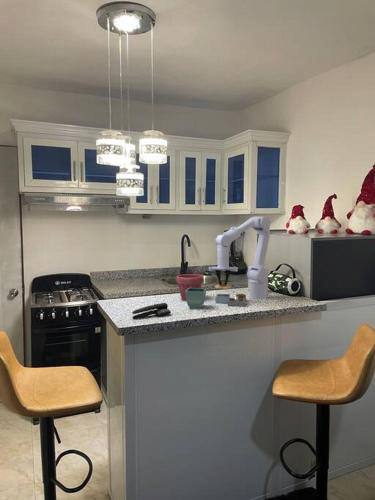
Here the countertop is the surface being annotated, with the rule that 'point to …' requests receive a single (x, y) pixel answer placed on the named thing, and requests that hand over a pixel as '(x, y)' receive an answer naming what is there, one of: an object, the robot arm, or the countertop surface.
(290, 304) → the countertop surface
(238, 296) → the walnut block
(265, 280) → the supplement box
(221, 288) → the lid
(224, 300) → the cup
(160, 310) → the can opener
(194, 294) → the flower pot
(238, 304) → the tray
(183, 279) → the plant pot
